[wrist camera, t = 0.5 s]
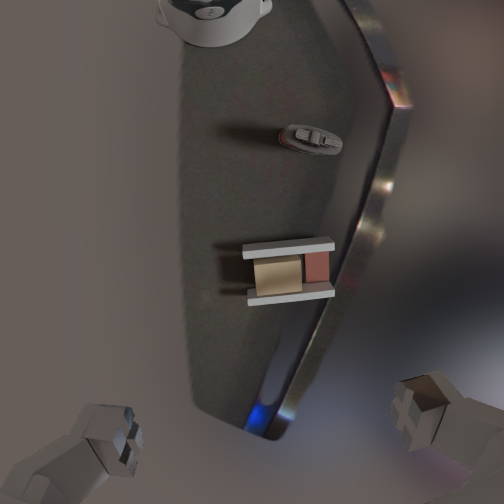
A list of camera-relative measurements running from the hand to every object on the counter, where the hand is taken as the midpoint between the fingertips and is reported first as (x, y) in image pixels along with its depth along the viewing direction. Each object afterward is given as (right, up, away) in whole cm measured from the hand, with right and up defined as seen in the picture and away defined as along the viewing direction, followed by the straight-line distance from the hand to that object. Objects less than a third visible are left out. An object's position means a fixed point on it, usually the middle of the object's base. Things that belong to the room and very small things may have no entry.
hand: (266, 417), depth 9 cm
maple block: (+3, +2, +45) cm, 45 cm away
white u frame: (+5, +2, +45) cm, 45 cm away
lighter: (+8, +22, +39) cm, 46 cm away
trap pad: (+10, +3, +45) cm, 46 cm away
